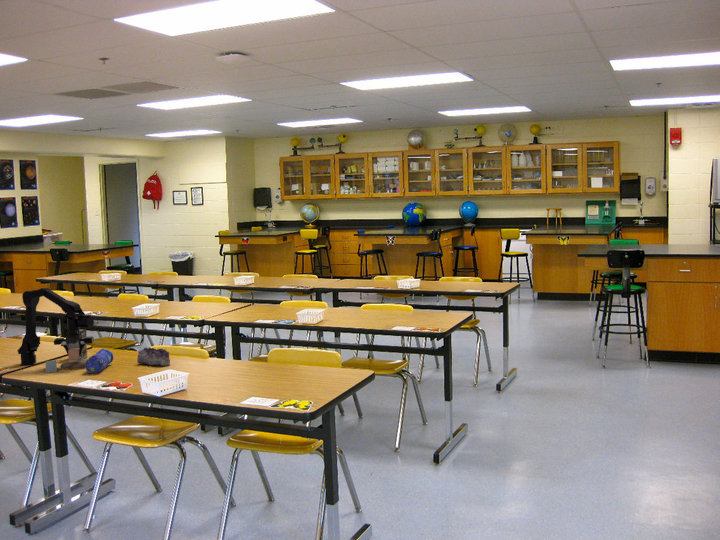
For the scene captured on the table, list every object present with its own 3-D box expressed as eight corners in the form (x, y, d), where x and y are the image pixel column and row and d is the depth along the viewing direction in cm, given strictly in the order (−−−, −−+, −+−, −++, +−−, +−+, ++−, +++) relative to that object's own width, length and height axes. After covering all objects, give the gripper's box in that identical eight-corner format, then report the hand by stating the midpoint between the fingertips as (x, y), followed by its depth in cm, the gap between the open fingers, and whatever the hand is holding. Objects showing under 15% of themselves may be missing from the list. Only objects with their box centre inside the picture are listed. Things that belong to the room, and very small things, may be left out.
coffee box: (80, 361, 371) (79, 331, 370) (69, 361, 371) (67, 331, 370) (88, 357, 380) (86, 328, 379) (76, 357, 380) (75, 328, 379)
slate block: (46, 372, 345) (45, 363, 344) (46, 370, 349) (45, 361, 349) (56, 371, 347) (56, 362, 347) (56, 369, 352) (56, 360, 351)
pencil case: (102, 374, 341) (101, 355, 340) (84, 374, 340) (83, 355, 339) (114, 364, 363) (113, 346, 362) (97, 365, 362) (96, 347, 361)
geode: (178, 363, 364) (176, 345, 362) (162, 371, 354) (161, 352, 352) (149, 358, 373) (148, 341, 371) (134, 365, 363) (132, 347, 361)
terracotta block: (68, 359, 355) (68, 350, 355) (70, 357, 360) (70, 348, 360) (78, 359, 356) (78, 350, 356) (80, 357, 361) (80, 348, 361)
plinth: (60, 369, 352) (60, 365, 351) (65, 364, 363) (65, 360, 363) (85, 368, 354) (84, 364, 354) (89, 363, 366) (89, 359, 365)
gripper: (50, 330, 347) (51, 360, 349) (89, 329, 351) (90, 359, 352) (55, 327, 358) (57, 356, 359) (93, 325, 362) (94, 354, 363)
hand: (74, 356), depth 358 cm, fingers closed on terracotta block, 5 cm apart
